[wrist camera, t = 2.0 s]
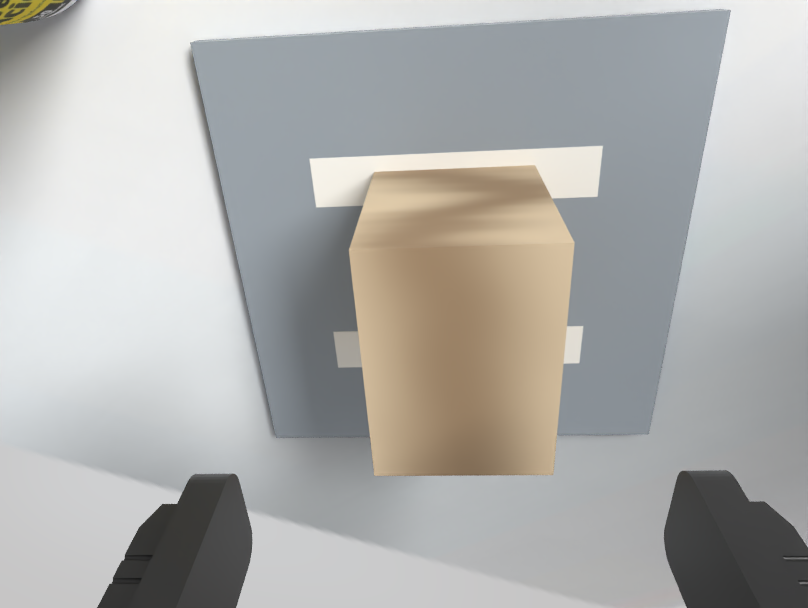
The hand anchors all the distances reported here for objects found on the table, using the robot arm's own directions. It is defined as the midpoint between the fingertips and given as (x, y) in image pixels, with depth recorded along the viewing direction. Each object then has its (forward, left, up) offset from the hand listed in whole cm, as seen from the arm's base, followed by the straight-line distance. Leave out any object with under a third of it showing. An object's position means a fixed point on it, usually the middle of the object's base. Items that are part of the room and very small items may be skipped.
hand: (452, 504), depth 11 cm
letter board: (0, 0, -11) cm, 11 cm away
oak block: (0, 0, -10) cm, 10 cm away
